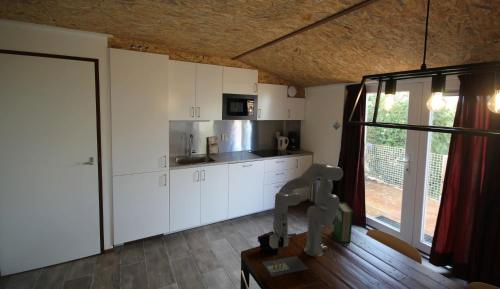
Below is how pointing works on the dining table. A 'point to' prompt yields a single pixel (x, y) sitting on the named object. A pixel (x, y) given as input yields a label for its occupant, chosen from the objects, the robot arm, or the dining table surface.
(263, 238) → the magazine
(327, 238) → the dining table surface
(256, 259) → the dining table surface
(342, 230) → the hardback book
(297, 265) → the board
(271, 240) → the plug
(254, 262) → the dining table surface
